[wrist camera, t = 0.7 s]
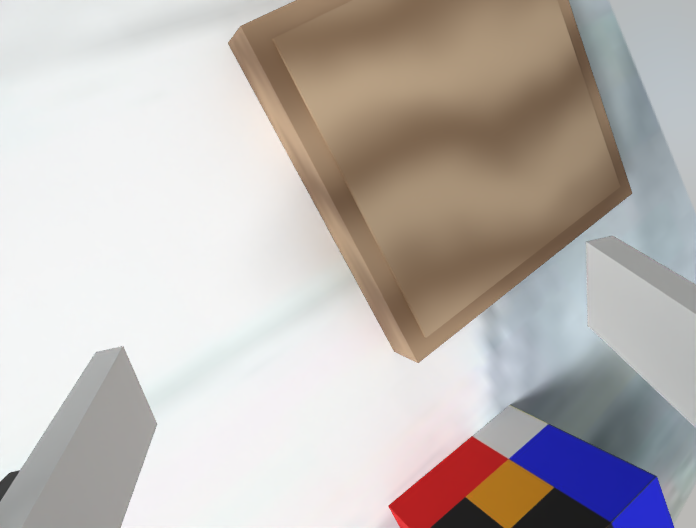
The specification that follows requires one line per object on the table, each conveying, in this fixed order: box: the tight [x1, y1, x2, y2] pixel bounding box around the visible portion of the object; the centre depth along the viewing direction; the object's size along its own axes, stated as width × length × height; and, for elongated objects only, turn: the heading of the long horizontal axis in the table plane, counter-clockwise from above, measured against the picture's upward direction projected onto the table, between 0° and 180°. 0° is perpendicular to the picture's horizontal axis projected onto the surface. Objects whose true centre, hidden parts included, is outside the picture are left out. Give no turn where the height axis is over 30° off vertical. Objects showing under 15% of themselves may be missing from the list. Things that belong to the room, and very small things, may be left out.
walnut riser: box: [228, 0, 632, 363], centre depth 28 cm, size 18×18×3 cm
